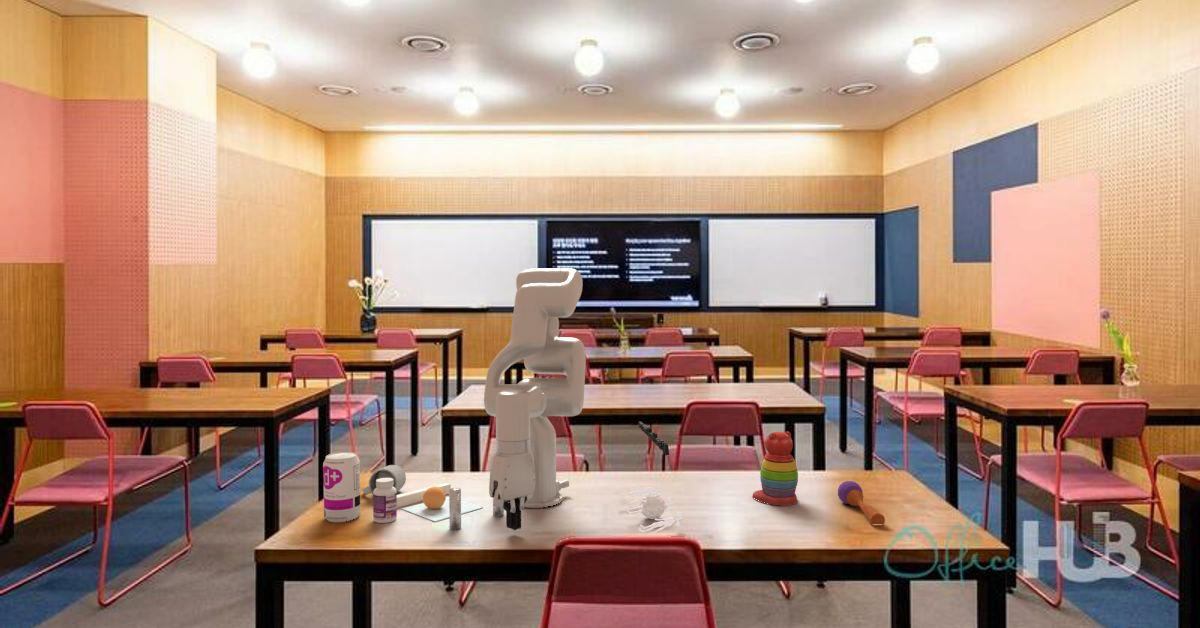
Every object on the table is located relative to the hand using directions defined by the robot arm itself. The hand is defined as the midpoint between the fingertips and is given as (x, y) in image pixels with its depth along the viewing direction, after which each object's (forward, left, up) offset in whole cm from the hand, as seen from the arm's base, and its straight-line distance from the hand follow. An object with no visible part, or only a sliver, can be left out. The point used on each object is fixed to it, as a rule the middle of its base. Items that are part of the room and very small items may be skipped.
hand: (513, 527), depth 163 cm
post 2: (-6, -13, -2) cm, 15 cm away
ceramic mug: (+3, -49, -2) cm, 49 cm away
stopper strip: (0, -37, -2) cm, 37 cm away
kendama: (-67, +51, -2) cm, 84 cm away
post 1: (+6, -13, -2) cm, 15 cm away
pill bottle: (+14, -30, -2) cm, 33 cm away
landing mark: (0, -27, -2) cm, 27 cm away
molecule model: (-29, +16, -2) cm, 33 cm away
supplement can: (+20, -39, -2) cm, 44 cm away
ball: (+1, -28, +1) cm, 28 cm away
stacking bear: (-62, +31, -2) cm, 69 cm away
